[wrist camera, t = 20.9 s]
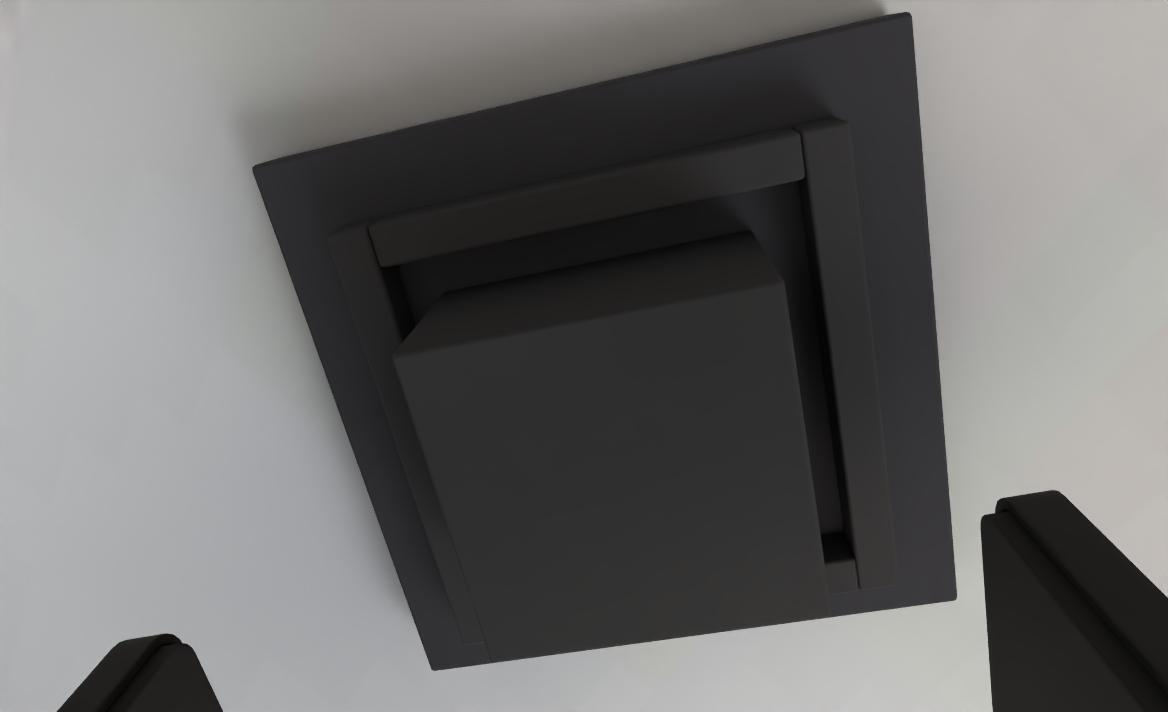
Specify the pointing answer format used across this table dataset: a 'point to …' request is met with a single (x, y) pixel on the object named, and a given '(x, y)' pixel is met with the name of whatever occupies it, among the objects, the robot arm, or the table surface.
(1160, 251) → the table surface
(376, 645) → the table surface
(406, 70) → the table surface
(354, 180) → the base pad
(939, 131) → the table surface
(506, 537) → the small pad
